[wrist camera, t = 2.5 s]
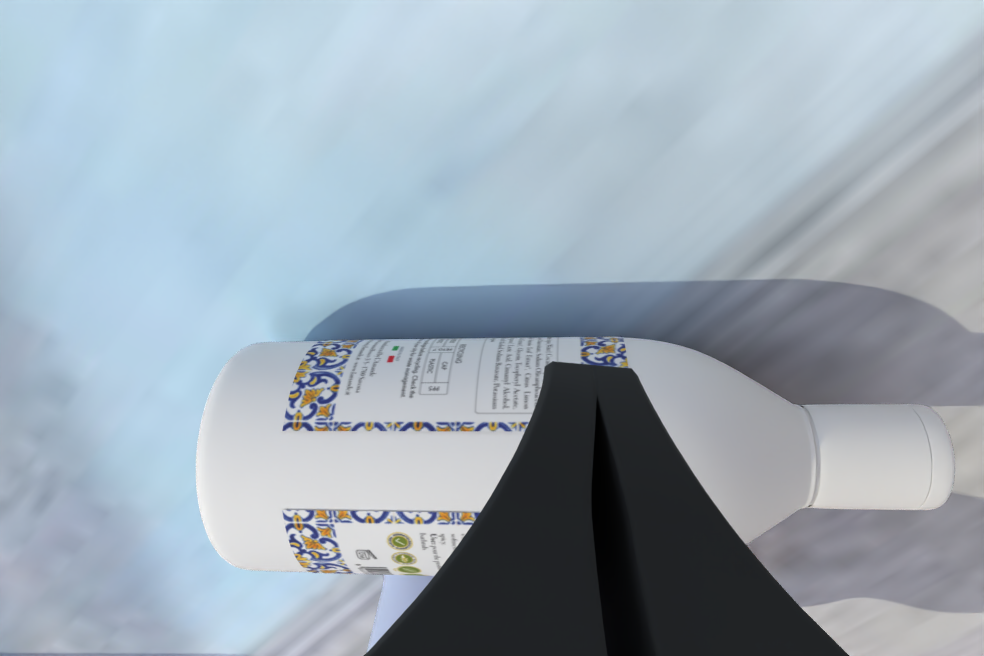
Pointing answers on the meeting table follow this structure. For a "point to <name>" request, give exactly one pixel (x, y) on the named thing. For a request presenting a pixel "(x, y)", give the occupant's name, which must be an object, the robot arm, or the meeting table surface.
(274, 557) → the bath foam
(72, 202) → the meeting table surface
